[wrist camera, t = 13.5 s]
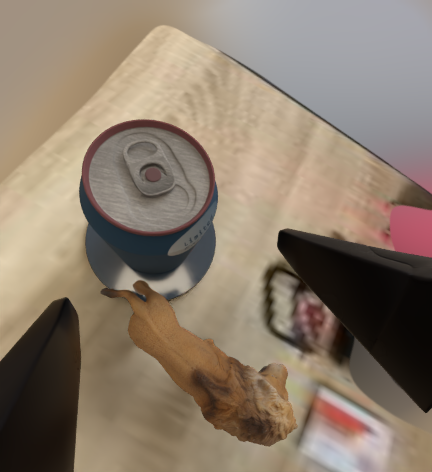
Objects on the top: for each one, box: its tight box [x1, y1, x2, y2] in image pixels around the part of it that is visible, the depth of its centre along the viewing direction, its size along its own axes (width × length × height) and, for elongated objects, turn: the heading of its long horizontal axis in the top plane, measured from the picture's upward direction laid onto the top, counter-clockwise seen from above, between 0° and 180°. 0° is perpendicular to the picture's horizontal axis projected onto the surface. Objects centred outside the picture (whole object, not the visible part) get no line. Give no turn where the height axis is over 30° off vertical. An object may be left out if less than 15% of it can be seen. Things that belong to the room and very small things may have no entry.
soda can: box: [79, 119, 218, 274], centre depth 15 cm, size 7×7×12 cm
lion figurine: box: [101, 280, 298, 446], centre depth 15 cm, size 15×5×9 cm, turn 59°
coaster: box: [85, 222, 216, 302], centre depth 21 cm, size 12×12×1 cm
